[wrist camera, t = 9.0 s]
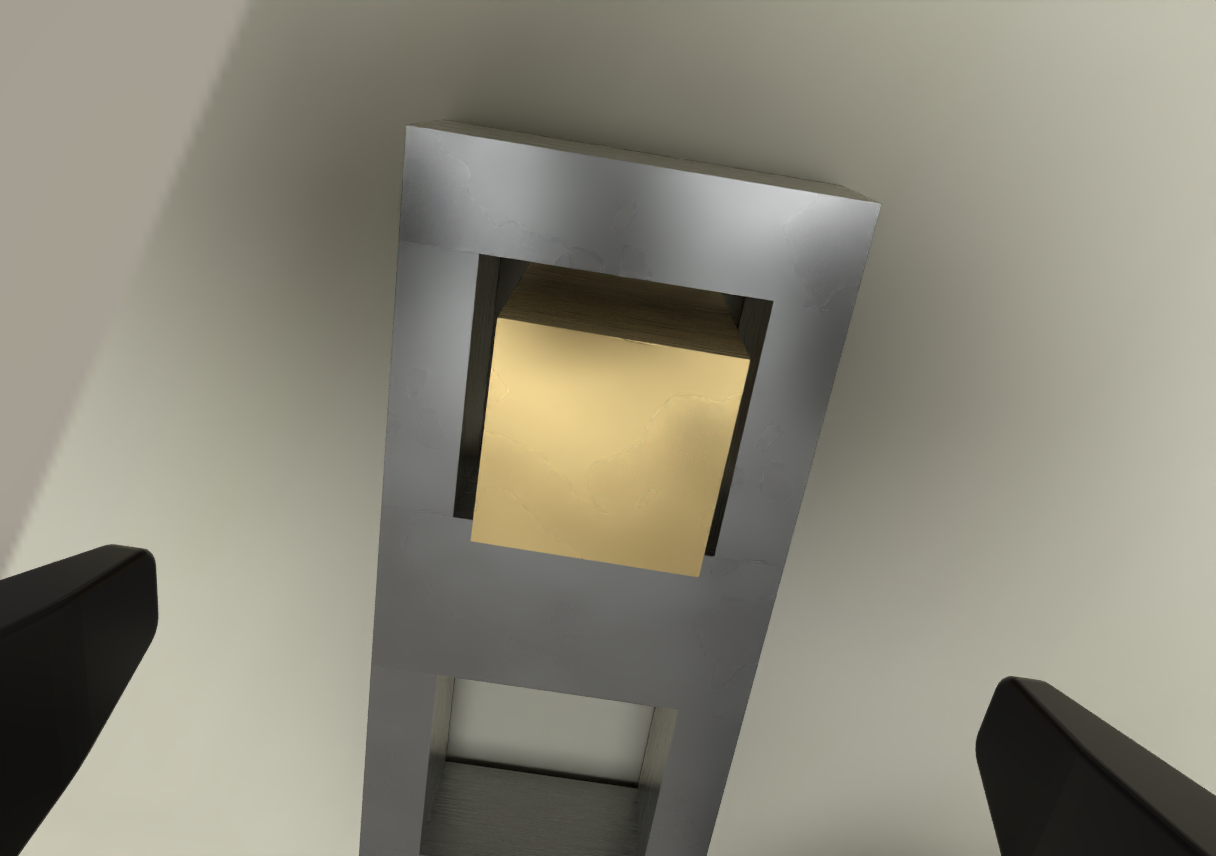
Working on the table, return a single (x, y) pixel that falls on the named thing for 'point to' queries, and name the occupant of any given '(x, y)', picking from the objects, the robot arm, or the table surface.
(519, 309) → the brass block
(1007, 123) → the table surface
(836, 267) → the grey slotted block
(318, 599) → the table surface
